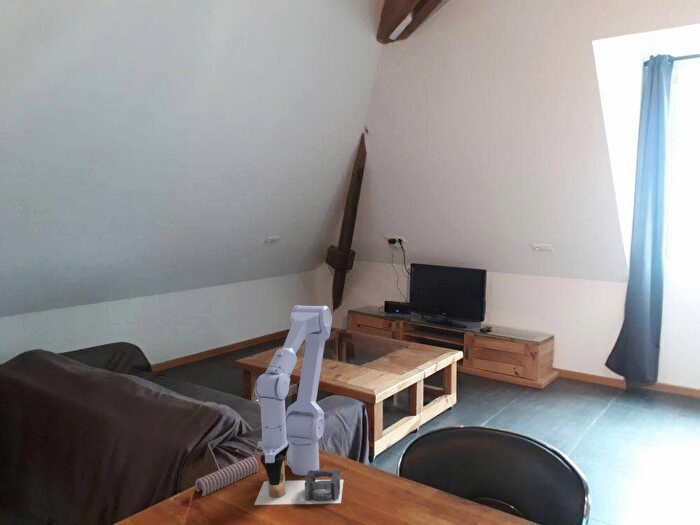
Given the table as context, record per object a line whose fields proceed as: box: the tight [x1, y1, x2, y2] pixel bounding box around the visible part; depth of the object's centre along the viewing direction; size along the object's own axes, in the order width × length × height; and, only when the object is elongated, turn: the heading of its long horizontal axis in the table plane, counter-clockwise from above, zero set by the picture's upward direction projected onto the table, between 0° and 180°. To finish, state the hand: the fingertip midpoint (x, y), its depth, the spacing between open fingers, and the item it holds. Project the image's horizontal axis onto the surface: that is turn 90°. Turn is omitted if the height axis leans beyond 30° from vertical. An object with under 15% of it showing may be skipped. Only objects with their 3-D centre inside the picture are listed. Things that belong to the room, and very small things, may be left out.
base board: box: [254, 479, 344, 506], centre depth 135 cm, size 20×12×1 cm, turn 88°
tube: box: [267, 454, 286, 498], centre depth 134 cm, size 4×4×9 cm
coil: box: [194, 456, 259, 497], centre depth 143 cm, size 5×5×18 cm
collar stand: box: [304, 468, 341, 501], centre depth 134 cm, size 8×8×4 cm
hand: (276, 480), depth 134 cm, fingers closed on tube, 4 cm apart
